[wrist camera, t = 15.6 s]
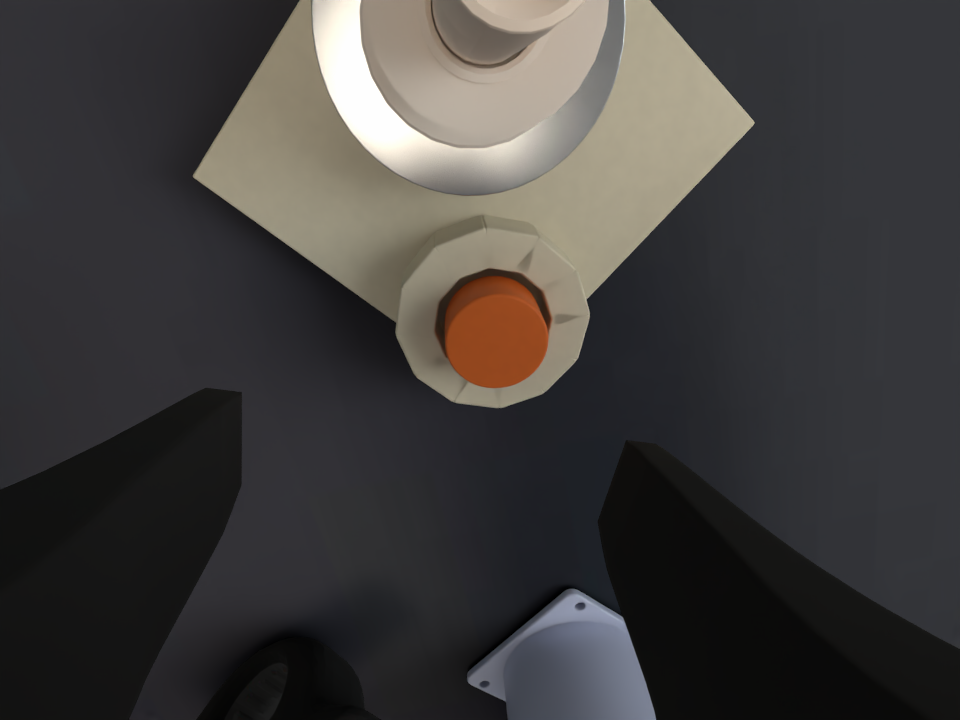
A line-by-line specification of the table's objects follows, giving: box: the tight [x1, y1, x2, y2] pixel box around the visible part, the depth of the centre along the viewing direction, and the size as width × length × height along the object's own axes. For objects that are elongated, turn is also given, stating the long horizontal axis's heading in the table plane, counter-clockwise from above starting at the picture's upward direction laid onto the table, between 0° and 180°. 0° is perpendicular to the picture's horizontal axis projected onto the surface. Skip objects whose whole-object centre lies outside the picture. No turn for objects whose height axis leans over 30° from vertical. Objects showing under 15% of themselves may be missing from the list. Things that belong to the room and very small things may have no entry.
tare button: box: [445, 276, 549, 388], centre depth 17 cm, size 3×3×2 cm
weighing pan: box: [311, 0, 626, 196], centre depth 14 cm, size 8×8×1 cm
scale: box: [193, 0, 754, 408], centre depth 17 cm, size 12×12×3 cm
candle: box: [359, 0, 609, 148], centre depth 9 cm, size 5×5×10 cm
